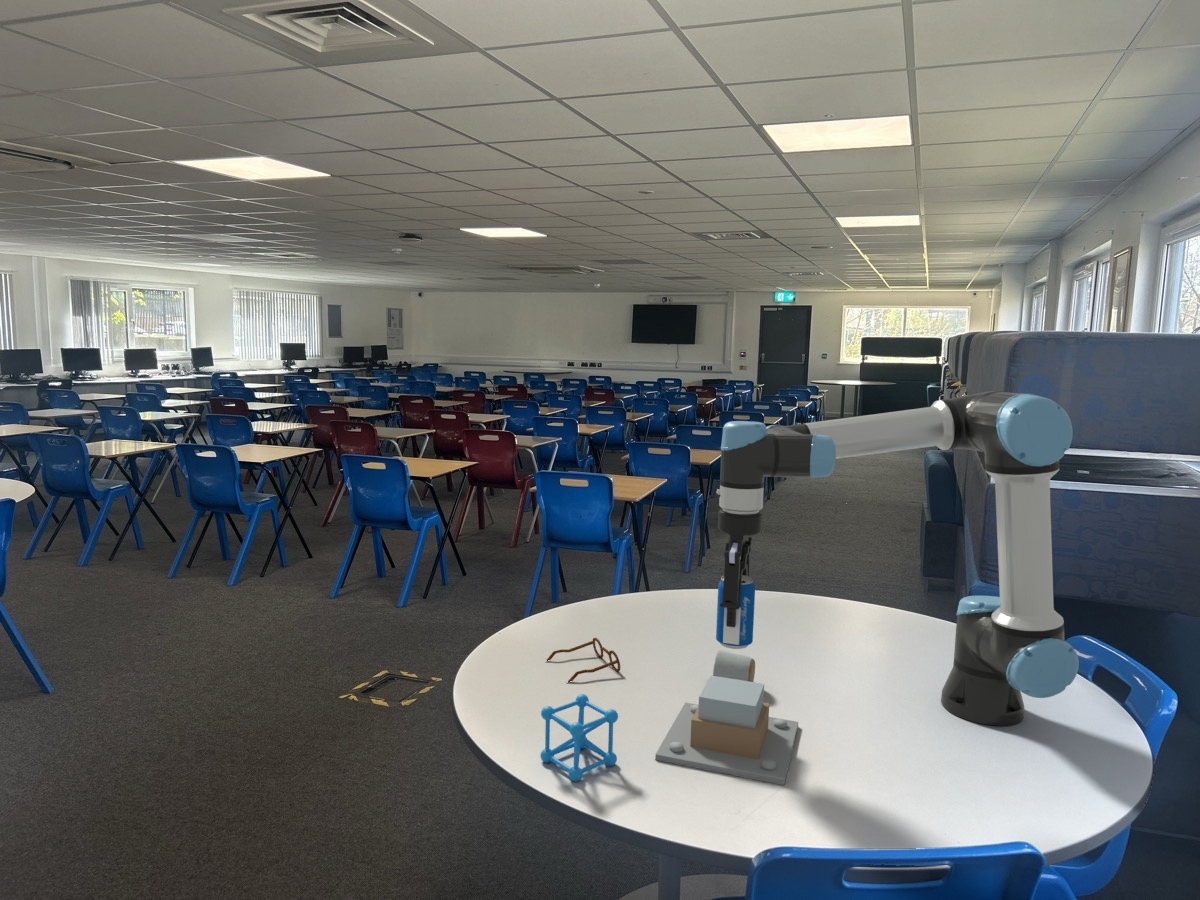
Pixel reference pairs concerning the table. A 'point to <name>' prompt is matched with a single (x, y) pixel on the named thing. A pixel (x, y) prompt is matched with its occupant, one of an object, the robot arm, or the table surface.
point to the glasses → (596, 653)
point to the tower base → (729, 761)
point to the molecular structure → (579, 736)
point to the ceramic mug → (734, 666)
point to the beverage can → (745, 617)
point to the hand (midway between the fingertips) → (734, 636)
